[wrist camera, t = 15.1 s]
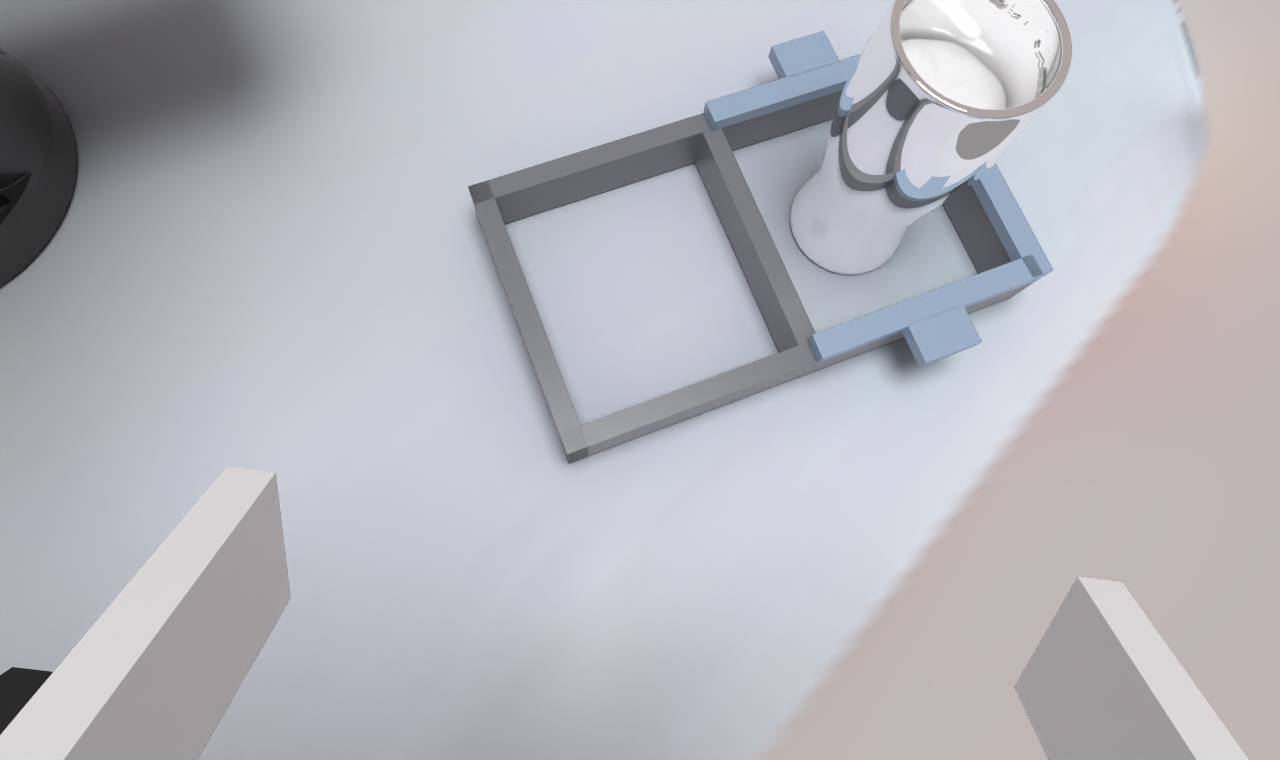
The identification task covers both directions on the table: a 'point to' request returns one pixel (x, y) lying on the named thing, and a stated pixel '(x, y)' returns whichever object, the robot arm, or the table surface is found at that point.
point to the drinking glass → (926, 120)
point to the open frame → (754, 247)
